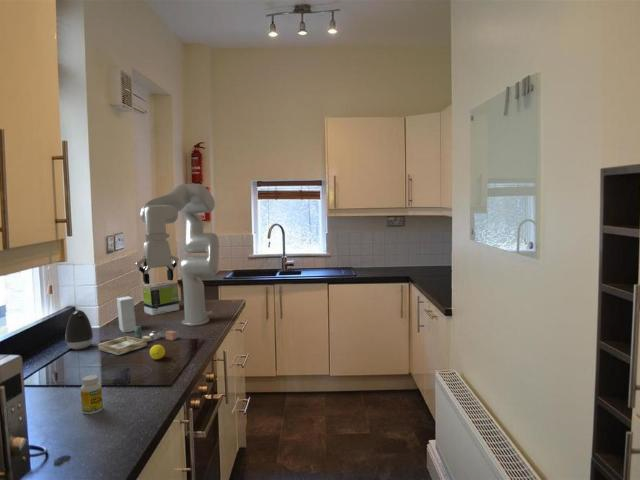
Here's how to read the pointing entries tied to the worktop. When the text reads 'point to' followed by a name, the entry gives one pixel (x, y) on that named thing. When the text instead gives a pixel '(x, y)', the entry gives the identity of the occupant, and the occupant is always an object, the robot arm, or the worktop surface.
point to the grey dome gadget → (78, 331)
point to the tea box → (160, 298)
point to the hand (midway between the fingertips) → (158, 281)
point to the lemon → (157, 352)
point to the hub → (155, 335)
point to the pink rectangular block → (171, 335)
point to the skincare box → (126, 314)
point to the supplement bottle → (91, 395)
